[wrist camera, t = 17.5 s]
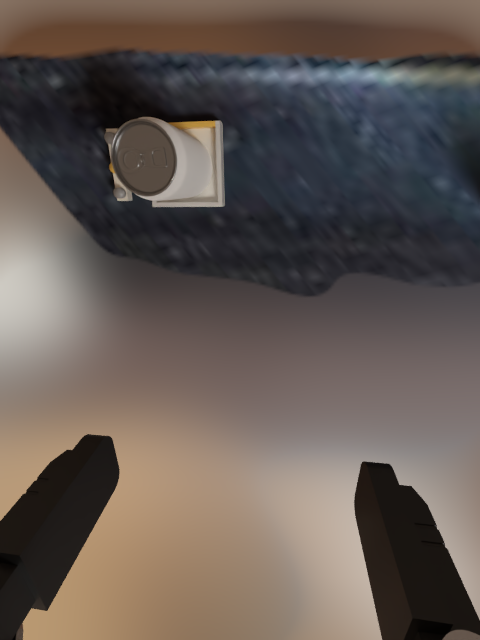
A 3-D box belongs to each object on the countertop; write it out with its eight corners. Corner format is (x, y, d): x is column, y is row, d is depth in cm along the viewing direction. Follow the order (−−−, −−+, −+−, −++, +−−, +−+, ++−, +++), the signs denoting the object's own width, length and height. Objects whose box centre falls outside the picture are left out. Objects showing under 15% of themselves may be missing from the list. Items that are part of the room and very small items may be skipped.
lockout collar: (222, 123, 34) (219, 120, 32) (224, 205, 37) (222, 206, 36) (148, 126, 35) (142, 123, 33) (157, 206, 38) (152, 207, 37)
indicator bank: (122, 130, 35) (113, 127, 33) (132, 200, 38) (125, 201, 37) (111, 130, 35) (101, 127, 34) (122, 200, 39) (114, 201, 37)
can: (155, 138, 35) (96, 116, 24) (210, 132, 34) (175, 107, 23) (164, 199, 37) (115, 204, 26) (216, 195, 36) (187, 199, 25)
